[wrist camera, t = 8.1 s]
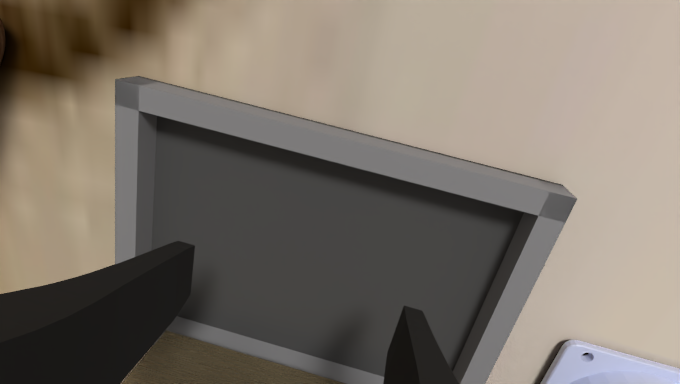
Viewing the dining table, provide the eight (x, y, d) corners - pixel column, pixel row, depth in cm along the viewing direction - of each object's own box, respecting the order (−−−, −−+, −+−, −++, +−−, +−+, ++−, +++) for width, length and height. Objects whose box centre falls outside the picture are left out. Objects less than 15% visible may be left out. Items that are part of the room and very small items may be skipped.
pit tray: (562, 184, 16) (577, 198, 14) (454, 410, 21) (458, 436, 19) (139, 76, 17) (115, 79, 15) (133, 314, 22) (115, 333, 20)
